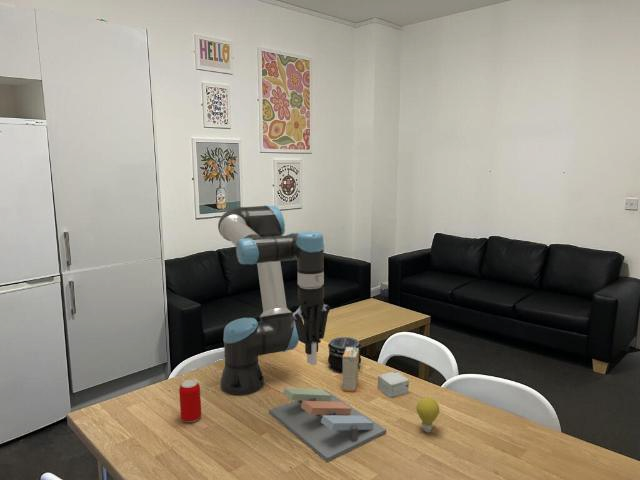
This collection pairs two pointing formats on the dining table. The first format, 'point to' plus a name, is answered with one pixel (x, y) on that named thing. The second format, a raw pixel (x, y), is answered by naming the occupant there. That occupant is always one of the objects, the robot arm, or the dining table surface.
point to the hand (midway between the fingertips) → (311, 363)
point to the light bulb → (427, 412)
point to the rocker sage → (306, 394)
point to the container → (341, 352)
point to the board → (324, 430)
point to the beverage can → (190, 401)
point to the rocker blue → (346, 422)
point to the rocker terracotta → (325, 407)
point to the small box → (393, 384)
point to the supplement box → (350, 369)
